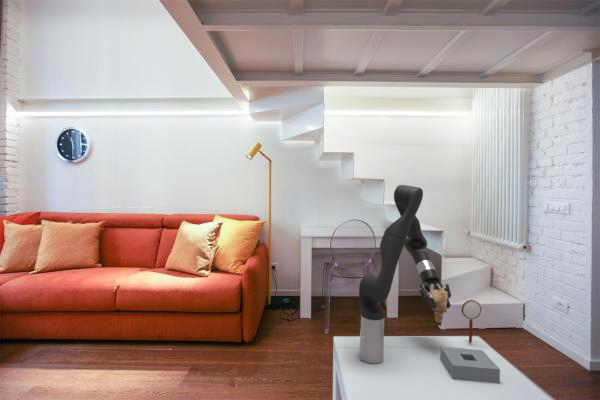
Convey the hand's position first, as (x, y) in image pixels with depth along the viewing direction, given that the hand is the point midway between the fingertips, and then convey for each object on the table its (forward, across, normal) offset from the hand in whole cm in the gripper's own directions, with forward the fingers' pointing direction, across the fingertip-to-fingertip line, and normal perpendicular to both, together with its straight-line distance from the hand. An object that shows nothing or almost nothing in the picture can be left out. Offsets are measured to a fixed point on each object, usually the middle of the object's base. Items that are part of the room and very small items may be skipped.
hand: (441, 307), depth 131 cm
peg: (+3, 0, +6) cm, 7 cm away
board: (+23, +4, +5) cm, 24 cm away
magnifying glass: (+9, +19, +19) cm, 28 cm away
